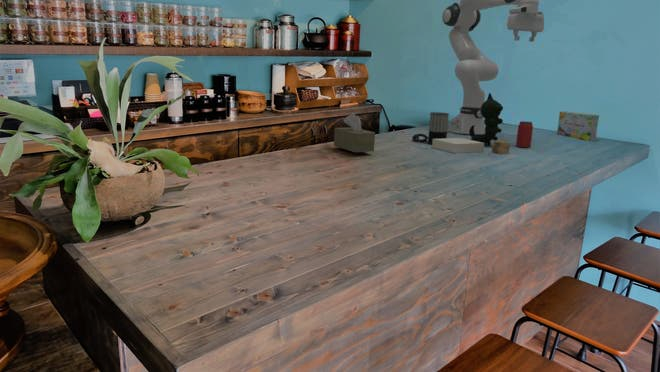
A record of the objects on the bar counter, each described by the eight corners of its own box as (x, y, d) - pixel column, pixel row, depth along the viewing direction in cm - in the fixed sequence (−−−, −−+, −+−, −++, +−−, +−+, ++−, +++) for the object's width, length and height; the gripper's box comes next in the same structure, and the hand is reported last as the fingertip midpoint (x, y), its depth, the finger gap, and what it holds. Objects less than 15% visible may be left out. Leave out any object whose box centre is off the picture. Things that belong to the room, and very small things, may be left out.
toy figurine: (489, 148, 236) (495, 93, 230) (461, 142, 252) (466, 91, 246) (504, 147, 240) (510, 93, 234) (476, 141, 256) (481, 91, 251)
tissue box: (333, 145, 226) (334, 110, 222) (352, 145, 230) (353, 110, 227) (354, 152, 210) (356, 114, 206) (374, 151, 214) (376, 114, 210)
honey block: (491, 152, 223) (493, 141, 222) (500, 152, 226) (501, 140, 224) (500, 154, 219) (501, 142, 218) (508, 153, 221) (510, 142, 220)
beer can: (528, 148, 239) (531, 123, 237) (514, 146, 243) (517, 121, 240) (532, 147, 244) (535, 122, 242) (518, 145, 248) (521, 120, 246)
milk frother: (448, 145, 238) (451, 114, 235) (415, 144, 238) (417, 112, 235) (442, 141, 252) (445, 111, 249) (411, 140, 252) (413, 110, 249)
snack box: (555, 138, 284) (559, 111, 280) (562, 137, 286) (566, 111, 282) (588, 143, 265) (592, 114, 261) (595, 143, 267) (600, 114, 264)
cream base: (432, 147, 230) (432, 138, 229) (459, 146, 237) (460, 137, 236) (454, 153, 216) (455, 144, 215) (483, 151, 223) (484, 142, 222)
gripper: (538, 12, 243) (534, 42, 246) (506, 9, 234) (503, 40, 237) (549, 11, 237) (545, 42, 240) (516, 7, 228) (513, 39, 231)
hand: (524, 41), depth 239 cm, fingers open, 8 cm apart
